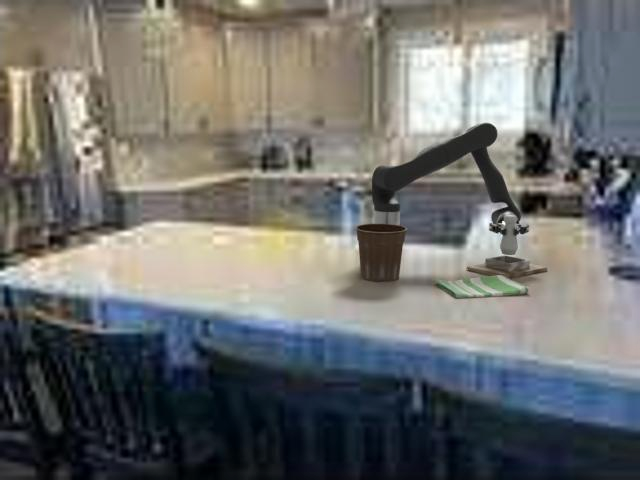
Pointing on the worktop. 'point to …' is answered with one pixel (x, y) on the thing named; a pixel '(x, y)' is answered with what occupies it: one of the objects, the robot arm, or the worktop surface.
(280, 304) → the worktop surface
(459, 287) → the dish towel
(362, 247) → the plant pot
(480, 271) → the caddy board
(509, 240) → the salt shaker
